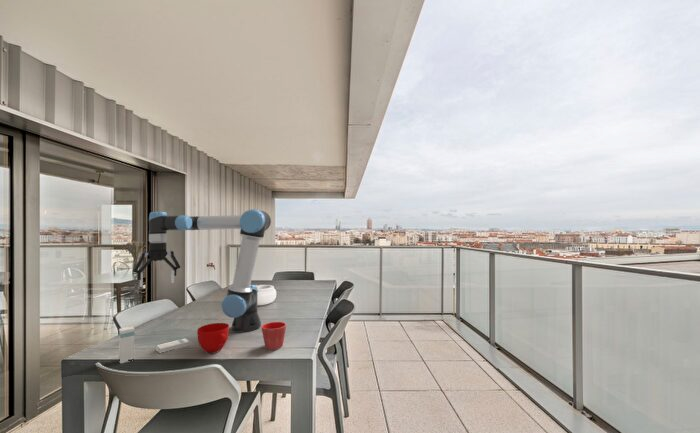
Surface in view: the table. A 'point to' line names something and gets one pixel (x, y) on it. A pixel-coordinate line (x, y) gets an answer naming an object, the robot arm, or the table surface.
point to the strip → (172, 345)
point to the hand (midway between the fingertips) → (157, 284)
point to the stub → (126, 343)
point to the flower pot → (273, 335)
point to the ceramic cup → (213, 336)
